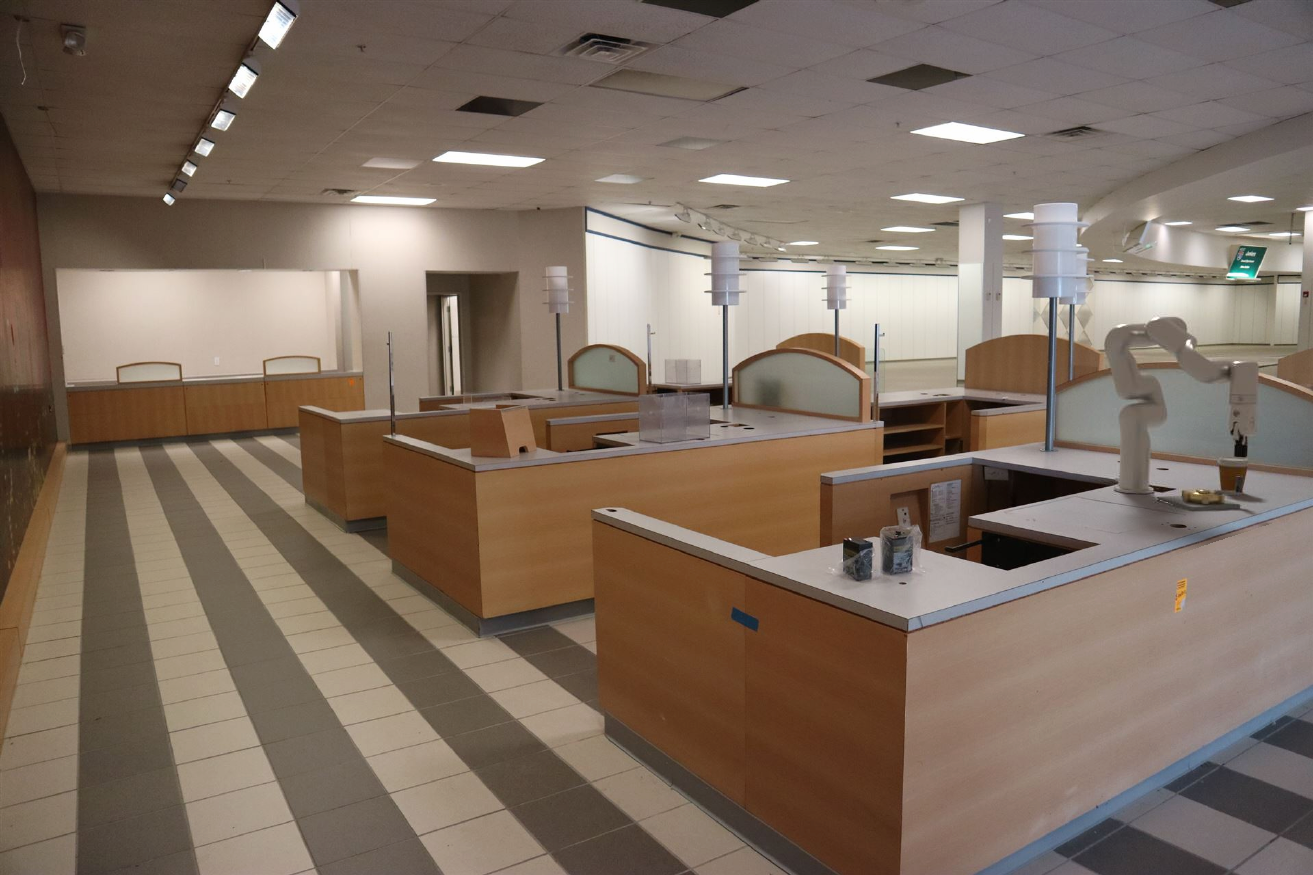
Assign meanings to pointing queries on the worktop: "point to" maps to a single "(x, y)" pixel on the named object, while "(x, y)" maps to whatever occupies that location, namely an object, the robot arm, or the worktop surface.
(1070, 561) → the worktop surface
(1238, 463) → the disposable coffee cup
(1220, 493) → the gold domed lever dial
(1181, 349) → the robot arm
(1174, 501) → the base plate
